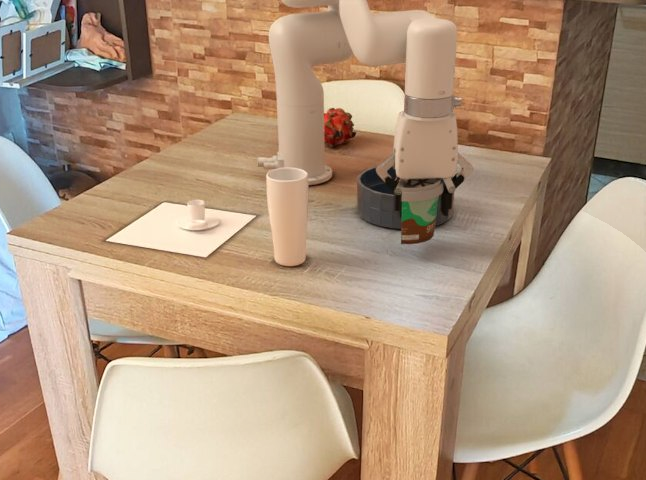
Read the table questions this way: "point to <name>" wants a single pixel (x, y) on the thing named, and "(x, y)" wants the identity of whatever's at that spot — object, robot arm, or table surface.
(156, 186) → the table surface
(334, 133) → the dragon fruit
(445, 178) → the robot arm
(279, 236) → the drinking glass
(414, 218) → the food container
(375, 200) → the bowl
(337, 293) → the table surface
